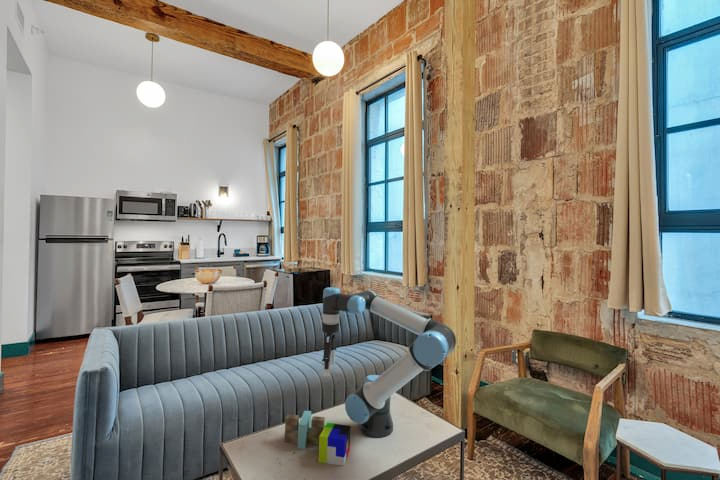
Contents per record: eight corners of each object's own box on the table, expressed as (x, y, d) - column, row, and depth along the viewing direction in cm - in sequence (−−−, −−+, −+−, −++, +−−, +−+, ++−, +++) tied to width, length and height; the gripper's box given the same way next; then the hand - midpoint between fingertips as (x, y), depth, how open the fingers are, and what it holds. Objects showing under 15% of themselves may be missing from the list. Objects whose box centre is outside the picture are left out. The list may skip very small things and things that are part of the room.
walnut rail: (323, 440, 147) (324, 417, 147) (322, 444, 144) (323, 420, 144) (286, 437, 148) (287, 414, 148) (284, 441, 145) (285, 418, 145)
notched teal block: (303, 433, 152) (304, 410, 152) (310, 433, 152) (311, 411, 152) (297, 448, 141) (298, 424, 141) (304, 449, 141) (305, 424, 141)
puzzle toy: (343, 466, 132) (344, 440, 131) (318, 461, 134) (319, 436, 133) (349, 450, 141) (350, 425, 141) (326, 446, 143) (327, 422, 143)
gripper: (326, 315, 168) (325, 359, 168) (316, 329, 143) (315, 381, 143) (342, 316, 167) (340, 360, 168) (335, 330, 142) (333, 382, 143)
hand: (329, 370), depth 155 cm, fingers open, 13 cm apart
